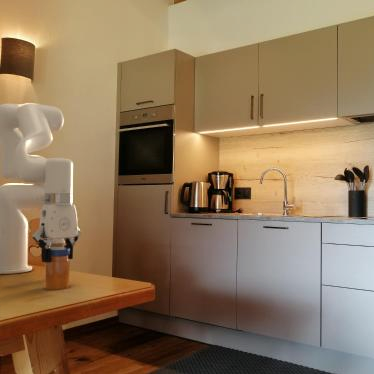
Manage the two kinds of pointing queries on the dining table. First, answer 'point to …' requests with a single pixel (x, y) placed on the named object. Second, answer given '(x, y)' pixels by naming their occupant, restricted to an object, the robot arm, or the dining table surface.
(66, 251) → the lid
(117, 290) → the dining table surface
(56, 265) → the jar
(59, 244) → the sprinkles bottle
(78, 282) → the dining table surface
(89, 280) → the dining table surface
